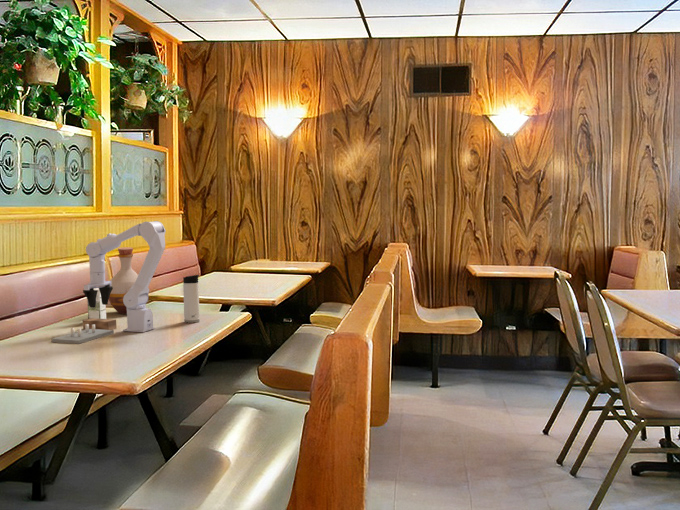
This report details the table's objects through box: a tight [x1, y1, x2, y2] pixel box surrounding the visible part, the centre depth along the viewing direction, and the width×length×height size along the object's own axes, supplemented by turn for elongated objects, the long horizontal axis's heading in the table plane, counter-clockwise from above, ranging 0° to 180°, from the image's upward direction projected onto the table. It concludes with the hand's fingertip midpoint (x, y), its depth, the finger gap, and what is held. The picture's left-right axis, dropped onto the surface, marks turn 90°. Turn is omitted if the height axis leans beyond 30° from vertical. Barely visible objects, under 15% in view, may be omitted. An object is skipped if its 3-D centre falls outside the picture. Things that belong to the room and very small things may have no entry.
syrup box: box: [86, 288, 107, 319], centre depth 285 cm, size 6×6×14 cm
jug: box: [108, 246, 139, 315], centre depth 308 cm, size 20×18×30 cm
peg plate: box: [51, 324, 115, 345], centre depth 252 cm, size 12×20×4 cm, turn 162°
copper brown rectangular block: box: [82, 318, 117, 331], centre depth 269 cm, size 12×5×4 cm, turn 73°
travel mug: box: [182, 274, 200, 324], centre depth 282 cm, size 6×7×20 cm
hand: (98, 305), depth 268 cm, fingers open, 7 cm apart
